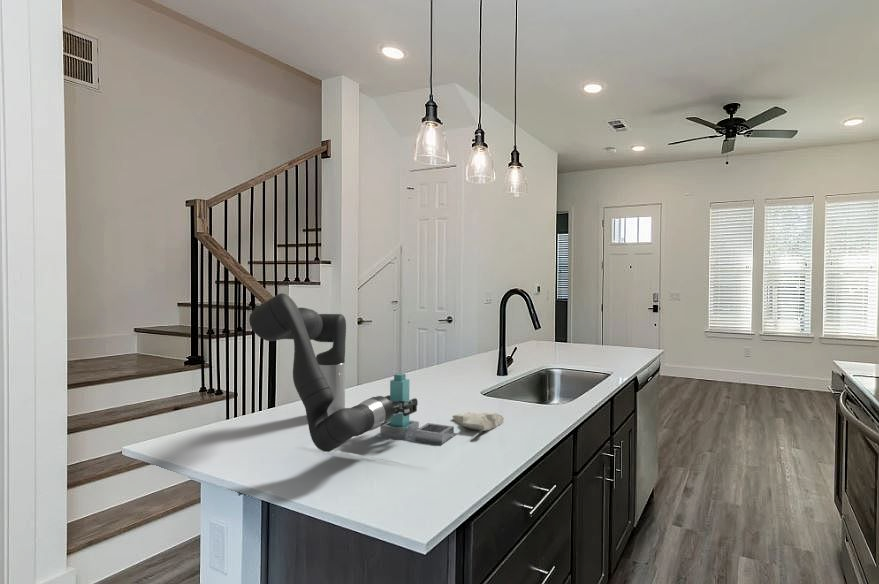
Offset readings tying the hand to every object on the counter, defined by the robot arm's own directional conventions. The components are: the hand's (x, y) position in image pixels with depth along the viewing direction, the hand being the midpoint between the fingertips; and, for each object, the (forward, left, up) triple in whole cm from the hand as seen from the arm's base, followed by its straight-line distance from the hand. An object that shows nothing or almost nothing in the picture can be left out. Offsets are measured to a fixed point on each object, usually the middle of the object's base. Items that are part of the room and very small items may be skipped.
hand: (402, 400), depth 150 cm
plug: (0, -2, -9) cm, 9 cm away
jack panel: (+5, -2, -10) cm, 12 cm away
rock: (+16, +17, -11) cm, 25 cm away
